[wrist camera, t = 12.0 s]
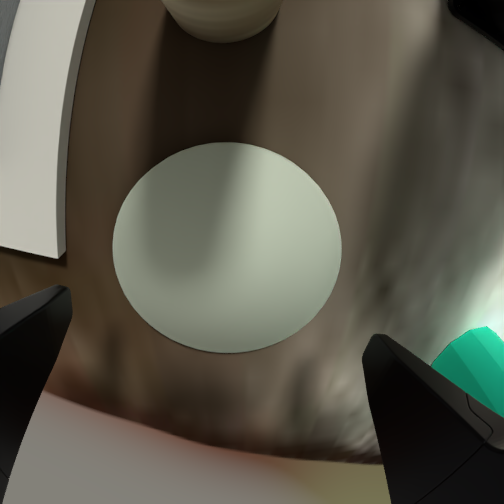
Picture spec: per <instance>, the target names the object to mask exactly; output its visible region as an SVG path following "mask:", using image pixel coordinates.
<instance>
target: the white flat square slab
mask: <svg viewBox="0 0 504 504" xmlns="http://www.w3.org/2000/svg"><path fill="white" fill-rule="evenodd" d="M95 1H96V0H0V246H3V247H8V248H12V249H16V250H21V251H25V252H29V253H34V254H38V255H43V256H47V257H52V258H57V259H58V258H59V257H60V256H61V255H62V254H63V253H64V252H65V251H66V238H65V188H66V166H67V152H68V140H69V130H70V121H71V113H72V106H73V99H74V92H75V86H76V80H77V75H78V70H79V65H80V60H81V55H82V50H83V46H84V42H85V37H86V33H87V30H88V26H89V22H90V18H91V15H92V11H93V8H94V4H95Z"/></svg>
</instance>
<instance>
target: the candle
mask: <svg viewBox="0 0 504 504" xmlns="http://www.w3.org/2000/svg"><path fill="white" fill-rule="evenodd" d="M431 367H432V368H433V369H435V370H436V371H438V372H439V373H440V374H442V375H443V376H444V377H446V378H447V379H449V380H450V381H451V382H453V383H454V384H455V385H457V386H458V387H460V388H461V389H462V390H464V391H465V393H468V394H469V395H471V396H472V397H473V398H475V399H476V400H478V401H479V402H480V403H482V404H483V405H485V406H486V407H488V408H489V409H491V410H492V411H494V412H495V413H497V414H498V415H500V416H502V417H503V418H504V342H503V341H502V340H501V339H500V337H499V336H498V335H497V334H496V333H495V332H494V331H492V330H491V329H490V328H488V327H487V326H486V327H481V328H477V329H472V330H469V331H468V332H466V333H465V334H463V335H462V336H460V337H459V338H457V339H456V340H454V341H453V342H451V343H450V344H449V345H448V346H447V347H446V348H445V350H444V351H443V352H442V353H441V354H440V355H439V356H438V357H437V358H436V360H435V361H434V362H433V364H432V366H431Z"/></svg>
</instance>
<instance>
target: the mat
mask: <svg viewBox="0 0 504 504" xmlns="http://www.w3.org/2000/svg"><path fill="white" fill-rule="evenodd" d="M113 260H114V265H115V271H116V274H117V277H118V280H119V283H120V285H121V287H122V290H123V292H124V294H125V296H126V297H127V299H128V300H129V302H130V303H131V305H132V306H133V308H134V309H135V310H136V311H137V312H138V314H139V315H140V316H141V317H142V318H143V319H144V320H145V321H146V322H147V323H148V324H149V325H151V326H152V327H153V328H155V329H156V330H157V331H159V332H160V333H161V334H163V335H165V336H167V337H168V338H170V339H172V340H174V341H176V342H178V343H181V344H183V345H186V346H189V347H192V348H195V349H199V350H204V351H209V352H219V353H238V352H247V351H252V350H257V349H261V348H264V347H267V346H270V345H273V344H275V343H278V342H280V341H282V340H284V339H286V338H288V337H289V336H291V335H293V334H294V333H296V332H297V331H299V330H300V329H301V328H303V327H304V326H305V325H306V324H307V323H308V322H309V321H311V320H312V319H313V318H314V317H315V316H316V314H317V313H318V312H319V311H320V309H321V308H322V307H323V306H324V304H325V302H326V301H327V299H328V298H329V296H330V294H331V292H332V290H333V287H334V285H335V283H336V280H337V276H338V273H339V269H340V263H341V236H340V230H339V225H338V222H337V219H336V216H335V213H334V211H333V209H332V207H331V205H330V203H329V200H328V199H327V197H326V196H325V194H324V193H323V192H322V190H321V189H320V187H319V186H318V185H317V184H316V183H315V182H314V181H313V180H312V178H311V177H310V176H309V175H308V174H306V173H305V172H304V171H303V170H302V169H300V168H299V167H298V166H297V165H296V164H294V163H293V162H291V161H290V160H288V159H286V158H285V157H283V156H281V155H280V154H277V153H275V152H273V151H270V150H268V149H265V148H262V147H258V146H255V145H251V144H245V143H237V142H214V143H208V144H202V145H197V146H194V147H191V148H188V149H185V150H182V151H180V152H178V153H176V154H174V155H172V156H169V157H168V158H166V159H165V160H163V161H162V162H160V163H159V164H157V165H156V166H154V167H153V168H152V169H151V170H150V171H148V172H147V173H146V174H145V175H144V176H143V177H142V178H141V179H140V180H139V181H138V182H137V183H136V185H135V186H134V187H133V188H132V190H131V191H130V193H129V194H128V196H127V198H126V199H125V201H124V203H123V205H122V207H121V209H120V212H119V214H118V217H117V220H116V224H115V229H114V235H113Z"/></svg>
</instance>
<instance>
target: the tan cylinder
mask: <svg viewBox="0 0 504 504" xmlns="http://www.w3.org/2000/svg"><path fill="white" fill-rule="evenodd" d="M161 1H162V2H163V4H164V5H165V7H166V8H167V9H168V11H169V12H170V14H171V15H172V17H173V18H174V19H175V21H176V22H177V24H178V25H179V26H180V27H181V28H182V29H183V30H184V31H186V32H187V33H188V34H190V35H192V36H194V37H196V38H198V39H201V40H204V41H208V42H214V43H231V42H237V41H241V40H245V39H247V38H250V37H252V36H254V35H256V34H258V33H259V32H261V31H262V30H264V29H265V28H266V27H267V26H268V25H269V24H270V23H271V22H272V21H273V19H274V18H275V17H276V15H277V13H278V11H279V8H280V6H281V4H282V2H283V0H161Z"/></svg>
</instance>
